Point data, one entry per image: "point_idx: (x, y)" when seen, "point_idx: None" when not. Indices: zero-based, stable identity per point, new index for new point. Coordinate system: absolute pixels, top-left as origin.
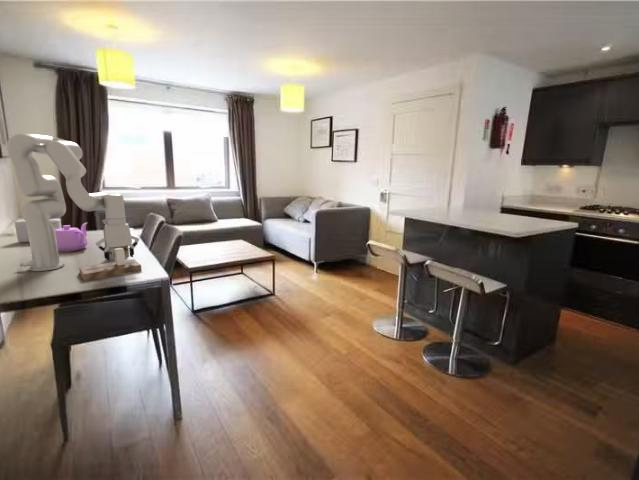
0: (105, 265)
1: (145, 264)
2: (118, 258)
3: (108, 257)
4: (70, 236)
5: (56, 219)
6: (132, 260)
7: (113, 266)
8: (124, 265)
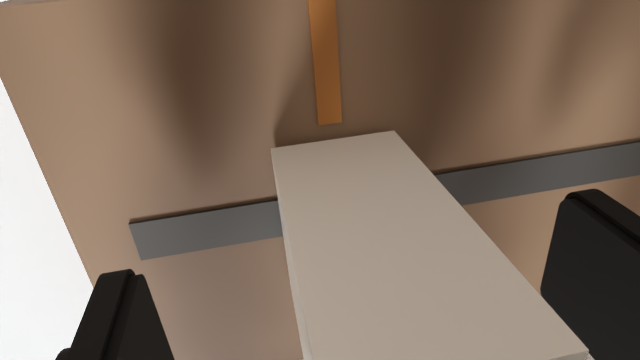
0: (507, 239)
1: (11, 308)
2: (421, 199)
3: (625, 223)
4: None
5: None
6: None
7: (443, 148)
8: (291, 128)
